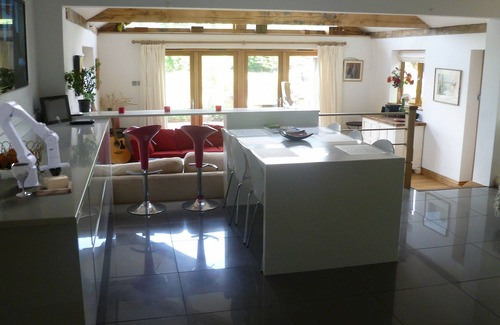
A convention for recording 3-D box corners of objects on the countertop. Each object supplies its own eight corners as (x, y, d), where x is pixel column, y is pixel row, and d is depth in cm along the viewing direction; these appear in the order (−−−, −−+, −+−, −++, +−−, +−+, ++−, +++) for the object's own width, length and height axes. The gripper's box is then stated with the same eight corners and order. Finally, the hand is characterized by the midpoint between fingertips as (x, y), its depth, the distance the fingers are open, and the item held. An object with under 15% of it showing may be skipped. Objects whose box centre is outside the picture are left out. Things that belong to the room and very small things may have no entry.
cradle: (36, 195, 237) (36, 191, 237) (39, 187, 251) (38, 183, 250) (71, 192, 242) (71, 188, 241) (72, 184, 255) (72, 181, 255)
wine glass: (13, 197, 235) (9, 167, 231) (16, 192, 242) (12, 163, 238) (31, 196, 237) (28, 165, 233) (33, 191, 244) (30, 162, 241)
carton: (48, 190, 246) (47, 180, 245) (45, 187, 252) (44, 177, 250) (69, 187, 252) (68, 177, 250) (65, 184, 257) (64, 174, 256)
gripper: (65, 153, 261) (67, 178, 264) (36, 157, 252) (39, 182, 255) (69, 155, 255) (72, 180, 258) (40, 159, 246) (43, 185, 250)
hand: (56, 182), depth 256 cm, fingers closed
